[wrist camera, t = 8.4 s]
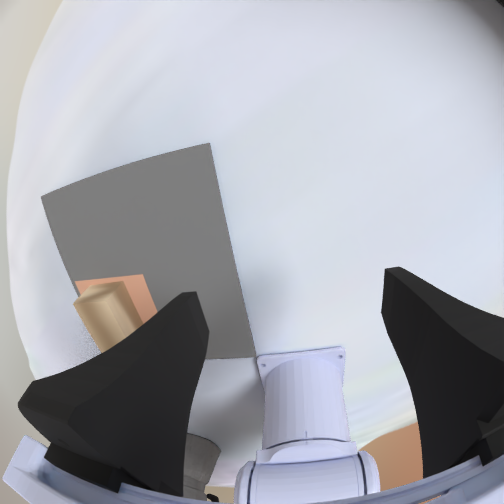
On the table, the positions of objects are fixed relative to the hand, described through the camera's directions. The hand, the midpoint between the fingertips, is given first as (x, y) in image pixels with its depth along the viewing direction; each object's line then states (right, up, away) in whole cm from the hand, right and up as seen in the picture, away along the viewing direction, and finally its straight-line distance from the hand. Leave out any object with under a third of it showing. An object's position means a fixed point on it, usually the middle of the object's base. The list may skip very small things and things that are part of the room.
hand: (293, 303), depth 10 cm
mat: (-11, 0, +11) cm, 16 cm away
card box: (-13, -4, +13) cm, 19 cm away
